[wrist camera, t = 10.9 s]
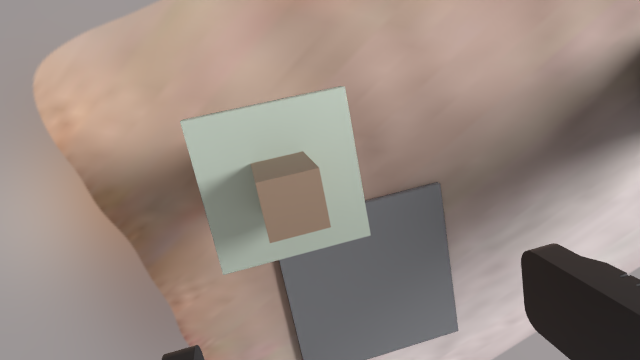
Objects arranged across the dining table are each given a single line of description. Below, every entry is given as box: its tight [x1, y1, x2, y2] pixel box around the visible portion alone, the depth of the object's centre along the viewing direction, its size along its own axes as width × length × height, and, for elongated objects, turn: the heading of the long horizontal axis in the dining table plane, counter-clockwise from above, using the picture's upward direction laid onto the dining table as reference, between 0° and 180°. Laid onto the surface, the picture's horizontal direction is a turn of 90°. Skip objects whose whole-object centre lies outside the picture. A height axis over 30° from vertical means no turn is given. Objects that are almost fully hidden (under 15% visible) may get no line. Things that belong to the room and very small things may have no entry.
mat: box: [279, 182, 458, 360], centre depth 42 cm, size 16×16×1 cm
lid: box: [180, 86, 371, 275], centre depth 23 cm, size 9×9×6 cm
